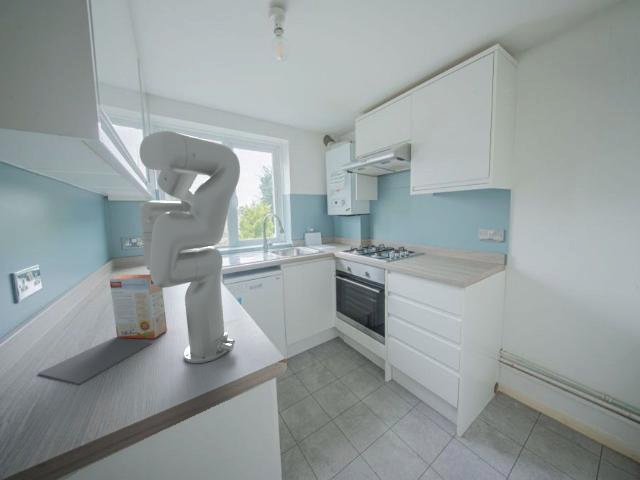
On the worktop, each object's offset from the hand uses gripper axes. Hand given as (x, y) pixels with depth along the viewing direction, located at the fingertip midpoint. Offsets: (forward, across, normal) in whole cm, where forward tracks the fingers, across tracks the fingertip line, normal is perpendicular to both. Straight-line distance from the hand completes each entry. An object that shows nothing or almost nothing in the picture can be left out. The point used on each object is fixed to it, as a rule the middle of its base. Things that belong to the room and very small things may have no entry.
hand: (161, 285), depth 85 cm
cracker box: (+15, 0, +8) cm, 17 cm away
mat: (+15, -1, +21) cm, 26 cm away
